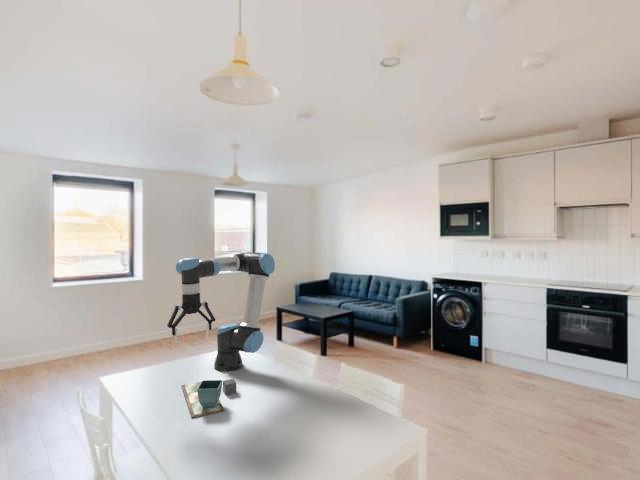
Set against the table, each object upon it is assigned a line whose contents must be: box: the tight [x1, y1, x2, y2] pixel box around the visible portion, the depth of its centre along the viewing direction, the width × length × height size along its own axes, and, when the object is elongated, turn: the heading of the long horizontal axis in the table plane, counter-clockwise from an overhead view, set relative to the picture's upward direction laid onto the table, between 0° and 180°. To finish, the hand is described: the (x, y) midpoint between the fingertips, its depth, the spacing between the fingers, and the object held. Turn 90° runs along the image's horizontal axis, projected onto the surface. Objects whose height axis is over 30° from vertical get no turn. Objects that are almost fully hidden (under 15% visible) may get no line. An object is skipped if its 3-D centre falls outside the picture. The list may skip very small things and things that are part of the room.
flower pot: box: [197, 379, 223, 408], centre depth 154 cm, size 9×9×9 cm
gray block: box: [222, 378, 237, 396], centre depth 169 cm, size 5×5×5 cm
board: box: [181, 381, 225, 419], centre depth 163 cm, size 13×34×1 cm, turn 27°
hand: (192, 339), depth 162 cm, fingers open, 13 cm apart
